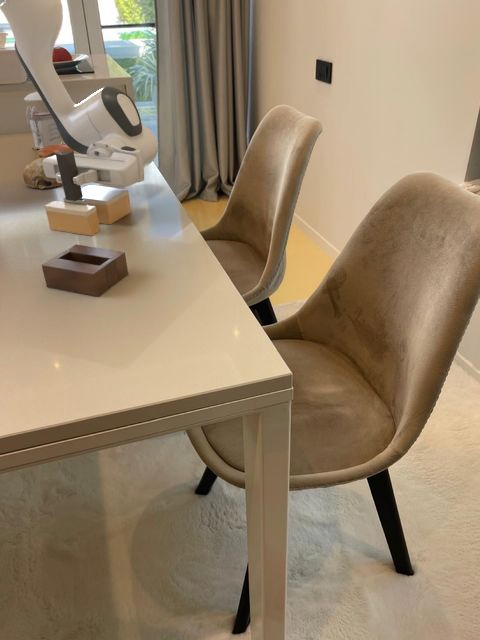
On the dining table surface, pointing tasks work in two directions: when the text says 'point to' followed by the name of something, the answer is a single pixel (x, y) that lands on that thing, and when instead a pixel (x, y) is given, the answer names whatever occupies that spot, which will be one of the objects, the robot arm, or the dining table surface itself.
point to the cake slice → (72, 218)
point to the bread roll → (38, 176)
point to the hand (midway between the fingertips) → (67, 180)
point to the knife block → (85, 270)
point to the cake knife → (69, 177)
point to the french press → (42, 124)
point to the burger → (52, 150)
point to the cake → (107, 202)
